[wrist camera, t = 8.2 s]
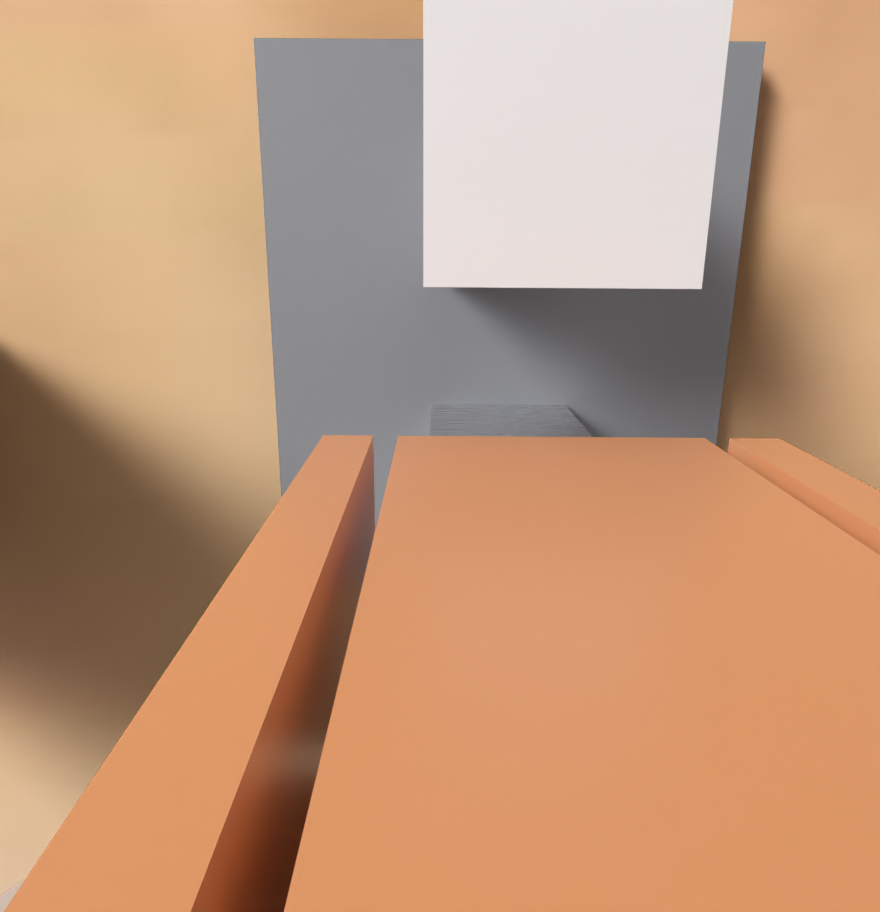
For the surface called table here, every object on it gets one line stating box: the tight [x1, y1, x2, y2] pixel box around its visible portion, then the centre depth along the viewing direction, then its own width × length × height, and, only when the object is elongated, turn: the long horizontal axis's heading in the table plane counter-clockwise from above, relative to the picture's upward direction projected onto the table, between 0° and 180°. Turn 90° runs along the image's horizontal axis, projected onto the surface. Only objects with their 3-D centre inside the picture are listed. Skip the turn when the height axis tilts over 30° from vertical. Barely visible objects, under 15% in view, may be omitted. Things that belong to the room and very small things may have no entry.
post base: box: [254, 0, 766, 530], centre depth 14 cm, size 14×12×10 cm
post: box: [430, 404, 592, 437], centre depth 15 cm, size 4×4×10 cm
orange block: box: [4, 435, 880, 912], centre depth 6 cm, size 6×6×9 cm
